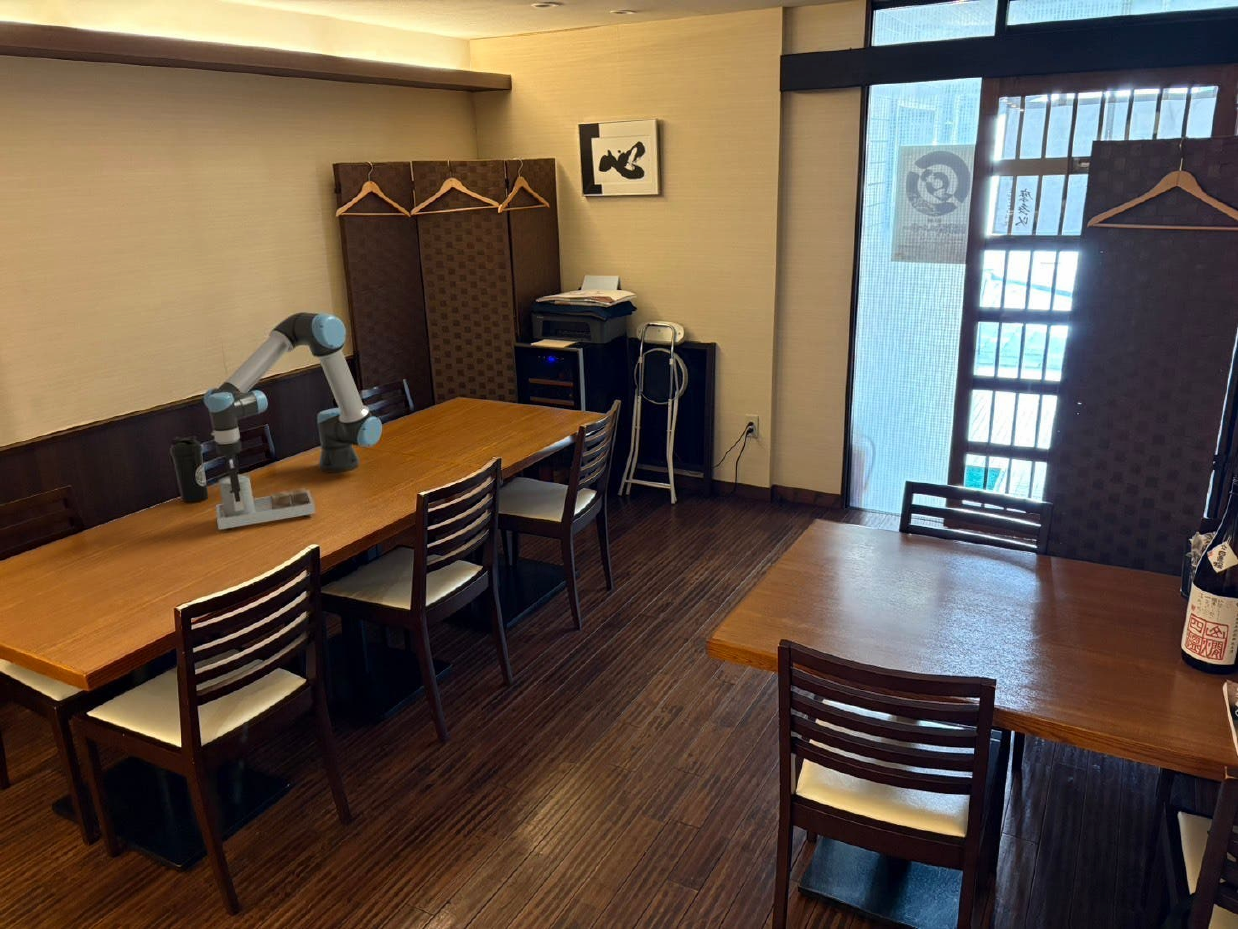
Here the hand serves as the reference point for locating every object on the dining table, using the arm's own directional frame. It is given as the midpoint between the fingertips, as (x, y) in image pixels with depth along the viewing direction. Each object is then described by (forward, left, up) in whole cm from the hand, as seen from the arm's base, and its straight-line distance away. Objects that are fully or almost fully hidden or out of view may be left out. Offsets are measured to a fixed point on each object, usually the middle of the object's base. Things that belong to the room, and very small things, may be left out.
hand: (238, 504), depth 298 cm
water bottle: (+14, -32, -6) cm, 36 cm away
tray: (-8, 0, -6) cm, 10 cm away
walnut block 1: (-13, 0, -4) cm, 14 cm away
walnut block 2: (-19, 0, -4) cm, 19 cm away
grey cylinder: (0, 0, -3) cm, 3 cm away
